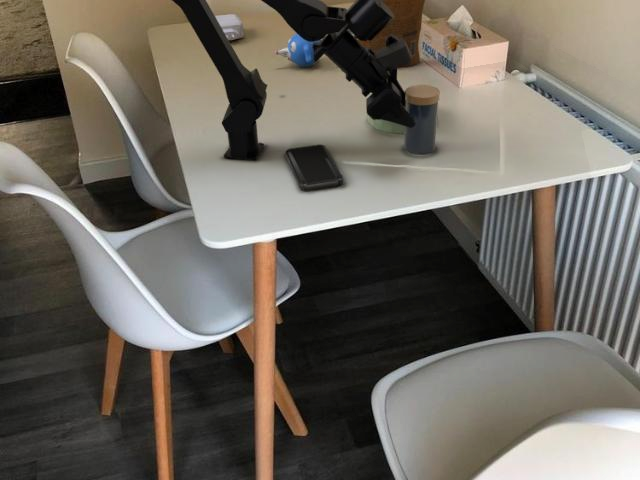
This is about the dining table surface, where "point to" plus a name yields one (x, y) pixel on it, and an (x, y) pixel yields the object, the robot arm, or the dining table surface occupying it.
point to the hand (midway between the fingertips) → (411, 115)
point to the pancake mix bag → (401, 27)
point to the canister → (421, 118)
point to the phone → (313, 167)
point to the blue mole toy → (299, 51)
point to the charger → (231, 26)
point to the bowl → (386, 125)
